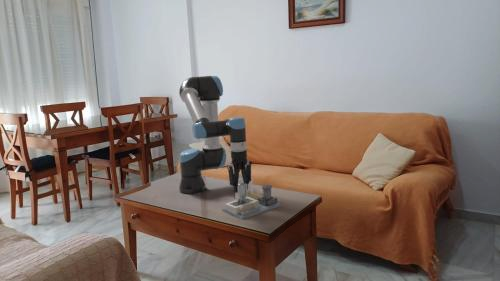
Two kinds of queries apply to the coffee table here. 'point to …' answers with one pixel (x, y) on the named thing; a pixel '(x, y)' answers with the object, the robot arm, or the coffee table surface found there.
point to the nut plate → (250, 205)
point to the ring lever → (260, 198)
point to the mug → (250, 187)
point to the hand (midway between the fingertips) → (241, 197)
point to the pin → (242, 194)
